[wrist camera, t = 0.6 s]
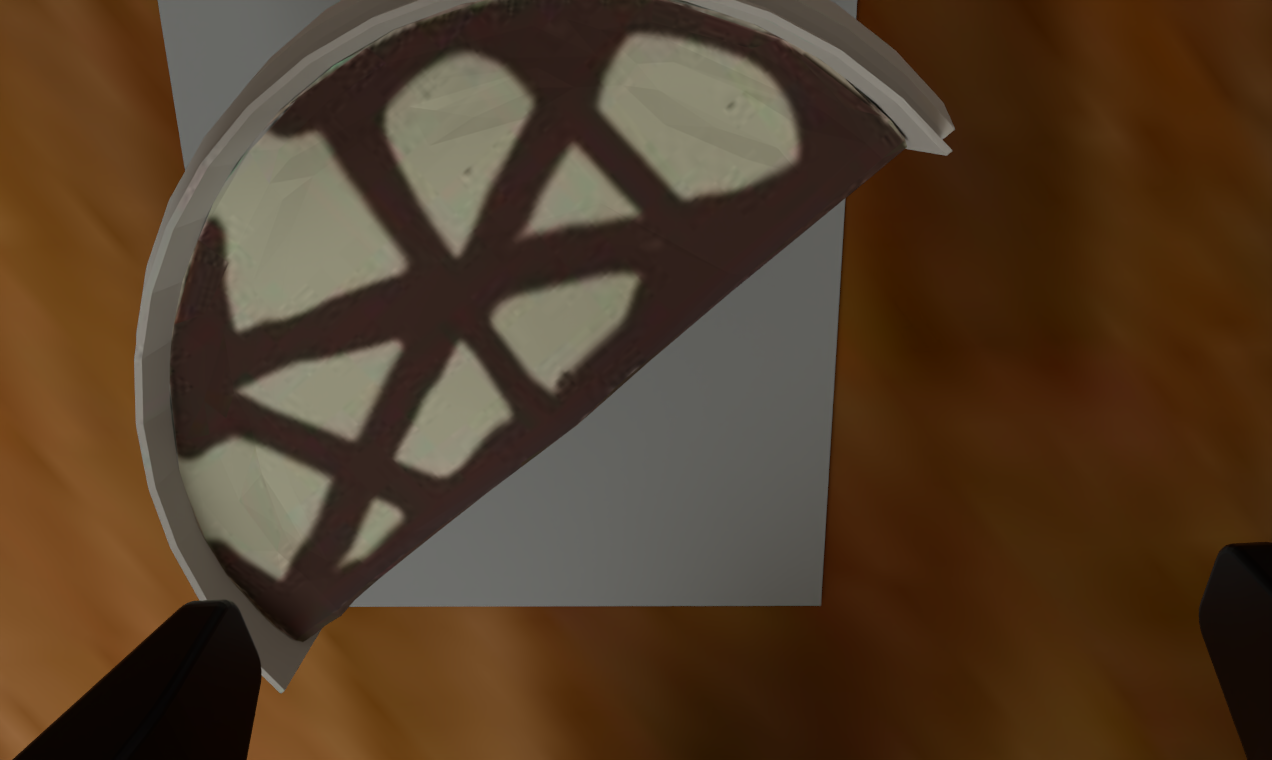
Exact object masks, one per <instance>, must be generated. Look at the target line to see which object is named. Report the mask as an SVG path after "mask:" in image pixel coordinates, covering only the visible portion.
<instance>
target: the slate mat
mask: <svg viewBox="0 0 1272 760" xmlns="http://www.w3.org/2000/svg"><path fill="white" fill-rule="evenodd" d="M339 1H341V0H158V5H159V12H160V18H161V24H162V30H163V36H164V43H165V49H166V55H167V61H168V67H169V74H170V80H171V86H172V92H173V98H174V105H175V111H176V117H177V123H178V129H179V136H180V142H181V148H182V154H183V160H184V166H185V171H186V169H187V167H188V165H189V163H190V162H191V160H192V158H193V156H194V154H195V153H196V151H197V149H198V147H199V145H200V144H201V142H202V140H203V138H204V137H205V136H206V134H207V133H208V132H209V131H210V129H211V128H212V127H213V126H214V125H215V123H216V122H217V121H218V120H219V118H220V117H221V116H222V115H223V114H224V112H225V111H226V110H227V109H228V107H229V106H230V105H231V104H232V103H233V101H234V100H235V99H236V98H237V96H238V95H239V94H240V93H241V92H242V90H243V89H244V88H245V87H246V85H247V84H248V83H249V82H250V81H251V79H252V78H253V77H254V76H255V75H256V74H257V72H258V71H259V70H260V69H261V68H262V67H263V66H264V64H265V63H266V62H267V61H268V60H269V59H270V58H271V57H272V56H273V55H274V54H275V53H276V52H277V51H279V50H280V49H281V48H282V47H283V46H284V45H286V44H287V43H288V42H289V41H290V40H291V39H292V38H294V37H295V36H296V35H297V34H298V33H299V32H301V31H302V30H303V29H304V28H305V27H306V26H307V25H309V24H310V23H311V22H312V21H313V20H314V19H316V18H317V17H318V16H319V15H320V14H321V13H322V12H324V11H325V10H326V9H328V8H329V7H331V6H333V5H334V4H336V3H338V2H339ZM830 1H832V2H834V3H836V4H837V5H838V6H840V7H841V8H842V9H843V10H845V11H846V12H847V13H848V14H850V15H851V16H852V17H854V18H855V19H856V12H857V0H830ZM844 212H845V199H844V200H843V201H841V202H840V203H839V204H838V205H837V206H835V207H834V208H833V209H832V210H831V211H829V212H828V213H827V214H826V215H824V216H823V217H822V218H821V219H820V220H818V221H817V222H816V223H815V224H813V225H812V226H811V227H810V228H809V229H807V230H806V231H805V232H804V233H803V234H801V235H800V236H799V237H798V238H796V239H795V240H794V241H793V242H792V243H790V244H789V245H788V246H787V247H785V248H784V249H783V250H782V251H781V252H779V253H778V254H777V255H776V256H775V257H773V258H772V259H771V260H770V261H768V262H767V263H766V264H765V265H764V266H762V267H761V268H760V269H759V270H757V271H756V272H755V273H754V274H753V275H751V276H750V277H749V278H748V279H747V280H745V281H744V282H743V283H742V284H740V285H739V286H738V287H737V288H736V289H734V290H733V291H732V292H731V293H730V294H728V295H727V296H726V297H725V298H724V299H722V300H721V301H720V302H719V303H718V304H717V305H715V306H714V307H713V308H712V309H711V310H709V311H708V312H707V313H706V314H705V315H704V316H702V317H701V318H700V319H699V320H698V321H696V322H695V323H694V324H693V325H692V326H691V327H689V328H688V329H687V330H686V331H685V332H683V333H682V334H681V335H680V336H679V337H678V338H676V339H675V340H674V341H673V342H672V343H670V344H669V345H668V346H667V347H666V348H665V349H663V350H662V351H661V352H660V353H659V354H658V355H656V356H655V357H654V358H653V359H652V360H651V361H649V362H648V363H647V364H646V365H645V366H644V367H643V368H641V369H640V370H639V371H638V372H637V373H636V374H635V375H633V376H632V377H631V378H630V379H629V380H628V381H627V382H626V383H624V384H623V385H622V386H621V387H620V388H619V389H618V390H616V391H615V392H614V393H613V394H612V395H611V396H610V397H609V398H607V399H606V400H605V401H604V402H603V403H602V404H601V405H599V406H598V407H597V408H596V409H595V410H594V411H593V412H591V413H590V414H589V415H588V416H587V417H586V418H585V419H584V420H582V421H581V422H580V423H579V424H578V425H577V426H575V427H574V428H573V429H571V430H570V431H569V432H567V433H566V434H565V435H563V436H562V437H561V438H559V439H558V440H557V441H555V442H554V443H553V444H551V445H550V446H549V447H548V448H546V449H545V450H544V451H542V452H541V453H540V454H538V455H537V456H536V457H534V458H533V459H532V460H530V461H529V462H528V463H526V464H525V465H524V466H522V467H521V468H520V469H518V470H517V471H516V472H514V473H513V474H512V475H510V476H509V477H508V478H506V479H505V480H504V481H502V482H501V483H500V484H498V485H497V486H496V487H494V488H493V489H492V490H490V491H489V492H488V493H486V494H485V495H484V496H483V497H481V498H480V499H479V500H478V501H476V502H475V503H474V504H473V505H471V506H470V507H469V508H467V509H466V510H465V511H464V512H462V513H461V514H460V515H459V516H457V517H456V518H455V519H453V520H452V521H451V522H450V523H448V524H447V525H446V526H445V527H443V528H442V529H441V530H440V531H438V532H437V533H436V534H434V535H433V536H432V537H431V538H429V539H428V540H427V541H426V542H424V543H423V544H422V545H421V546H419V547H418V548H417V549H416V550H414V551H413V552H412V553H411V554H409V555H408V556H407V557H406V558H404V559H403V560H402V561H401V562H399V563H398V564H397V565H396V566H394V567H393V568H392V569H391V570H389V571H388V572H387V573H386V574H385V575H383V576H382V577H381V578H380V579H378V580H377V581H376V582H375V583H374V584H373V585H371V586H370V587H369V588H368V589H367V590H366V591H365V592H363V593H362V594H361V595H360V596H359V597H358V598H357V599H355V600H354V602H353V603H352V604H351V605H350V606H349V607H394V606H821V596H822V579H823V563H824V546H825V529H826V512H827V496H828V479H829V462H830V446H831V429H832V412H833V396H834V379H835V362H836V346H837V329H838V312H839V296H840V279H841V262H842V246H843V229H844Z"/></svg>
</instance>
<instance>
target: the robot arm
mask: <svg viewBox="0 0 1272 760" xmlns="http://www.w3.org/2000/svg"><path fill="white" fill-rule="evenodd" d="M1199 624H1200V629H1201V633H1202V636H1203V639H1204V641H1205V644H1206V647H1207V650H1208V652H1209V655H1210V658H1211V661H1212V663H1213V666H1214V669H1215V672H1216V674H1217V677H1218V680H1219V683H1220V686H1221V688H1222V691H1223V694H1224V697H1225V699H1226V702H1227V705H1228V708H1229V710H1230V713H1231V716H1232V719H1233V721H1234V724H1235V727H1236V730H1237V732H1238V735H1239V738H1240V741H1241V743H1242V746H1243V749H1244V752H1245V754H1246V757H1247V760H1272V543H1271V542H1254V543H1236V544H1229V545H1226V546H1225V547H1224V548H1222V549H1221V550H1220V551H1219V553H1218V555H1217V558H1216V561H1215V563H1214V566H1213V569H1212V572H1211V575H1210V578H1209V580H1208V583H1207V586H1206V589H1205V592H1204V594H1203V597H1202V600H1201V603H1200V607H1199ZM261 674H262V670H261V661H260V657H259V653H258V651H257V649H256V646H255V644H254V642H253V639H252V637H251V635H250V632H249V630H248V628H247V625H246V623H245V621H244V618H243V616H242V614H241V611H240V610H239V608H238V606H237V605H236V604H235V603H234V602H233V601H231V600H227V599H221V600H203V601H192V602H189V603H187V604H185V605H183V606H182V607H181V608H179V609H178V610H177V611H176V612H175V613H174V614H173V615H172V616H170V617H169V618H168V619H167V620H166V621H165V622H164V623H163V624H162V625H161V626H159V627H158V628H157V629H156V630H155V631H154V632H153V633H152V634H151V635H149V636H148V637H147V638H146V639H145V640H144V641H143V642H142V643H141V644H140V645H138V646H137V647H136V648H135V649H134V650H133V651H132V652H131V653H130V654H129V655H127V656H126V657H125V658H124V659H123V660H122V661H121V662H120V663H119V664H117V665H116V666H115V667H114V668H113V669H112V670H111V671H110V672H109V673H108V674H106V675H105V676H104V677H103V678H102V679H101V680H100V681H99V682H98V683H96V684H95V685H94V686H93V687H92V688H91V689H90V690H89V691H88V692H87V693H85V694H84V695H83V696H82V697H81V698H80V699H79V700H78V701H77V702H76V703H74V704H73V705H72V706H71V707H70V708H69V709H68V710H67V711H66V712H64V713H63V714H62V715H61V716H60V717H59V718H58V719H57V720H56V721H55V722H53V723H52V724H51V725H50V726H49V727H48V728H47V729H46V730H45V731H43V732H42V733H41V734H40V735H39V736H38V737H37V738H36V739H35V740H34V741H32V742H31V743H30V744H29V745H28V746H27V747H26V748H25V749H24V750H23V751H21V752H20V753H19V754H18V755H17V756H16V757H15V758H14V759H13V760H247V755H248V749H249V744H250V739H251V733H252V728H253V722H254V717H255V711H256V706H257V701H258V695H259V690H260V684H261Z"/></svg>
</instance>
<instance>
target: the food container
mask: <svg viewBox="0 0 1272 760" xmlns="http://www.w3.org/2000/svg"><path fill="white" fill-rule="evenodd" d="M953 130H955V128H954V125H953V123H952V121H951V119H950V117H949V114H948V112H947V110H946V108H945V105H944V103H943V102H942V101H941V100H940V99H939V97H938V96H937V95H936V94H935V93H934V92H933V91H932V90H931V89H930V88H929V87H928V85H927V84H926V83H925V82H924V81H923V80H922V79H921V78H920V77H919V76H918V75H917V73H916V72H915V71H914V70H913V69H912V68H911V67H910V66H909V65H908V64H907V63H906V61H905V60H904V59H903V58H902V57H901V56H900V55H899V54H898V53H897V52H896V51H895V50H894V49H893V48H892V47H890V46H889V45H888V44H886V43H885V42H884V41H883V40H881V39H880V38H879V37H878V36H876V35H875V34H874V33H873V32H871V31H870V30H869V29H867V28H866V27H865V26H864V25H862V24H861V23H860V22H859V21H857V20H856V19H855V18H854V17H852V16H851V15H850V14H848V13H847V12H846V11H845V10H843V9H842V8H841V7H840V6H838V5H837V4H836V3H834V2H832V1H830V0H341V1H339V2H338V3H336V4H334V5H333V6H331V7H329V8H328V9H326V10H325V11H324V12H322V13H321V14H320V15H319V16H318V17H317V18H316V19H314V20H313V21H312V22H311V23H310V24H309V25H307V26H306V27H305V28H304V29H303V30H302V31H301V32H299V33H298V34H297V35H296V36H295V37H294V38H292V39H291V40H290V41H289V42H288V43H287V44H286V45H284V46H283V47H282V48H281V49H280V50H279V51H277V52H276V53H275V54H274V55H273V56H272V57H271V58H270V59H269V60H268V61H267V62H266V63H265V64H264V66H263V67H262V68H261V69H260V70H259V71H258V72H257V74H256V75H255V76H254V77H253V78H252V79H251V81H250V82H249V83H248V84H247V85H246V87H245V88H244V89H243V90H242V92H241V93H240V94H239V95H238V96H237V98H236V99H235V100H234V101H233V103H232V104H231V105H230V106H229V107H228V109H227V110H226V111H225V112H224V114H223V115H222V116H221V117H220V118H219V120H218V121H217V122H216V123H215V125H214V126H213V127H212V128H211V129H210V131H209V132H208V133H207V134H206V136H205V137H204V138H203V140H202V142H201V144H200V145H199V147H198V149H197V151H196V153H195V154H194V156H193V158H192V160H191V162H190V163H189V165H188V167H187V169H186V171H185V173H184V174H183V176H182V178H181V180H180V182H179V183H178V185H177V187H176V189H175V191H174V192H173V194H172V196H171V198H170V200H169V202H168V205H167V208H166V211H165V214H164V217H163V220H162V223H161V226H160V229H159V231H158V234H157V237H156V240H155V243H154V246H153V249H152V252H151V255H150V258H149V261H148V264H147V267H146V273H145V280H144V287H143V293H142V300H141V307H140V313H139V320H138V326H137V333H136V350H135V357H134V370H135V408H136V428H137V433H138V438H139V443H140V448H141V453H142V458H143V463H144V468H145V474H146V479H147V484H148V489H149V491H150V494H151V497H152V499H153V502H154V505H155V508H156V510H157V513H158V516H159V518H160V521H161V524H162V526H163V529H164V532H165V535H166V537H167V540H168V543H169V545H170V548H171V550H172V552H173V554H174V555H175V557H176V559H177V561H178V563H179V564H180V566H181V568H182V570H183V571H184V573H185V575H186V577H187V579H188V580H189V582H190V584H191V586H192V588H193V589H194V591H195V593H196V595H197V597H198V598H199V600H200V601H203V600H221V599H227V600H231V601H233V602H234V603H235V604H236V605H237V606H238V608H239V610H240V611H241V614H242V616H243V618H244V621H245V623H246V625H247V628H248V630H249V632H250V635H251V637H252V639H253V642H254V644H255V646H256V649H257V651H258V653H259V657H260V661H261V670H262V674H261V675H262V676H263V677H264V678H265V679H266V680H267V681H268V682H269V683H270V684H271V685H272V686H273V687H274V688H275V689H277V690H278V691H279V692H280V693H282V692H283V691H285V689H286V687H287V686H288V684H289V682H290V681H291V679H292V677H293V676H294V674H295V672H296V671H297V669H298V667H299V666H300V664H301V662H302V661H303V659H304V657H305V656H306V654H307V652H308V651H309V649H310V647H311V646H312V644H313V642H314V641H315V639H316V637H317V635H318V634H319V632H320V630H321V629H322V628H323V627H324V626H325V625H327V624H328V623H330V622H332V621H333V620H335V619H336V618H338V617H340V616H341V615H342V614H343V613H344V612H345V611H346V609H347V608H348V607H349V606H350V605H351V604H352V603H353V602H354V600H355V599H357V598H358V597H359V596H360V595H361V594H362V593H363V592H365V591H366V590H367V589H368V588H369V587H370V586H371V585H373V584H374V583H375V582H376V581H377V580H378V579H380V578H381V577H382V576H383V575H385V574H386V573H387V572H388V571H389V570H391V569H392V568H393V567H394V566H396V565H397V564H398V563H399V562H401V561H402V560H403V559H404V558H406V557H407V556H408V555H409V554H411V553H412V552H413V551H414V550H416V549H417V548H418V547H419V546H421V545H422V544H423V543H424V542H426V541H427V540H428V539H429V538H431V537H432V536H433V535H434V534H436V533H437V532H438V531H440V530H441V529H442V528H443V527H445V526H446V525H447V524H448V523H450V522H451V521H452V520H453V519H455V518H456V517H457V516H459V515H460V514H461V513H462V512H464V511H465V510H466V509H467V508H469V507H470V506H471V505H473V504H474V503H475V502H476V501H478V500H479V499H480V498H481V497H483V496H484V495H485V494H486V493H488V492H489V491H490V490H492V489H493V488H494V487H496V486H497V485H498V484H500V483H501V482H502V481H504V480H505V479H506V478H508V477H509V476H510V475H512V474H513V473H514V472H516V471H517V470H518V469H520V468H521V467H522V466H524V465H525V464H526V463H528V462H529V461H530V460H532V459H533V458H534V457H536V456H537V455H538V454H540V453H541V452H542V451H544V450H545V449H546V448H548V447H549V446H550V445H551V444H553V443H554V442H555V441H557V440H558V439H559V438H561V437H562V436H563V435H565V434H566V433H567V432H569V431H570V430H571V429H573V428H574V427H575V426H577V425H578V424H579V423H580V422H581V421H582V420H584V419H585V418H586V417H587V416H588V415H589V414H590V413H591V412H593V411H594V410H595V409H596V408H597V407H598V406H599V405H601V404H602V403H603V402H604V401H605V400H606V399H607V398H609V397H610V396H611V395H612V394H613V393H614V392H615V391H616V390H618V389H619V388H620V387H621V386H622V385H623V384H624V383H626V382H627V381H628V380H629V379H630V378H631V377H632V376H633V375H635V374H636V373H637V372H638V371H639V370H640V369H641V368H643V367H644V366H645V365H646V364H647V363H648V362H649V361H651V360H652V359H653V358H654V357H655V356H656V355H658V354H659V353H660V352H661V351H662V350H663V349H665V348H666V347H667V346H668V345H669V344H670V343H672V342H673V341H674V340H675V339H676V338H678V337H679V336H680V335H681V334H682V333H683V332H685V331H686V330H687V329H688V328H689V327H691V326H692V325H693V324H694V323H695V322H696V321H698V320H699V319H700V318H701V317H702V316H704V315H705V314H706V313H707V312H708V311H709V310H711V309H712V308H713V307H714V306H715V305H717V304H718V303H719V302H720V301H721V300H722V299H724V298H725V297H726V296H727V295H728V294H730V293H731V292H732V291H733V290H734V289H736V288H737V287H738V286H739V285H740V284H742V283H743V282H744V281H745V280H747V279H748V278H749V277H750V276H751V275H753V274H754V273H755V272H756V271H757V270H759V269H760V268H761V267H762V266H764V265H765V264H766V263H767V262H768V261H770V260H771V259H772V258H773V257H775V256H776V255H777V254H778V253H779V252H781V251H782V250H783V249H784V248H785V247H787V246H788V245H789V244H790V243H792V242H793V241H794V240H795V239H796V238H798V237H799V236H800V235H801V234H803V233H804V232H805V231H806V230H807V229H809V228H810V227H811V226H812V225H813V224H815V223H816V222H817V221H818V220H820V219H821V218H822V217H823V216H824V215H826V214H827V213H828V212H829V211H831V210H832V209H833V208H834V207H835V206H837V205H838V204H839V203H840V202H841V201H843V200H844V199H845V198H846V197H847V196H849V195H850V194H851V193H852V192H853V191H855V190H856V189H857V188H858V187H859V186H861V185H862V184H863V183H864V182H865V181H867V180H868V179H869V178H870V177H871V176H873V175H874V174H875V173H876V172H877V171H879V170H880V169H881V168H882V167H884V166H885V165H886V164H887V163H888V162H890V161H891V160H892V159H893V158H894V157H896V156H897V155H898V154H899V153H900V152H902V151H903V150H904V149H911V150H916V151H922V152H928V153H934V154H940V155H946V156H947V155H948V154H949V153H950V152H952V150H951V149H950V148H949V146H948V145H947V144H946V143H945V142H944V141H943V140H942V139H943V138H945V137H946V136H947V135H949V134H950V133H951V132H952V131H953Z"/></svg>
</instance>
